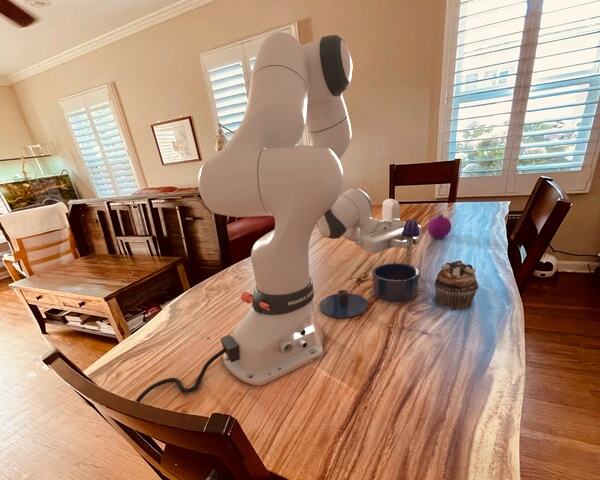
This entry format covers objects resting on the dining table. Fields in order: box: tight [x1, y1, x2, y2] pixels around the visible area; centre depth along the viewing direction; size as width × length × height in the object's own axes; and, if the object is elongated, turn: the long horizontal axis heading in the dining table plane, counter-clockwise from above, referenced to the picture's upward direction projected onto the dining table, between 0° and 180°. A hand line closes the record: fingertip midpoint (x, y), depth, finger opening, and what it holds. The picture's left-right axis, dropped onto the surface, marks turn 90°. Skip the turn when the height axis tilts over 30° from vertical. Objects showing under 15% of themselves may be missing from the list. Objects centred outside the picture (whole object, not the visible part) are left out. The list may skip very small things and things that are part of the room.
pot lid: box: [318, 289, 369, 320], centre depth 79 cm, size 12×12×5 cm
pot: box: [371, 262, 420, 303], centre depth 83 cm, size 11×11×6 cm
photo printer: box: [381, 198, 401, 220], centre depth 135 cm, size 10×4×12 cm, turn 13°
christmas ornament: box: [427, 211, 452, 239], centre depth 118 cm, size 8×8×10 cm
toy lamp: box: [402, 218, 420, 266], centre depth 89 cm, size 5×5×17 cm
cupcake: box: [434, 260, 480, 311], centre depth 75 cm, size 10×10×10 cm
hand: (412, 243), depth 88 cm, fingers open, 3 cm apart
